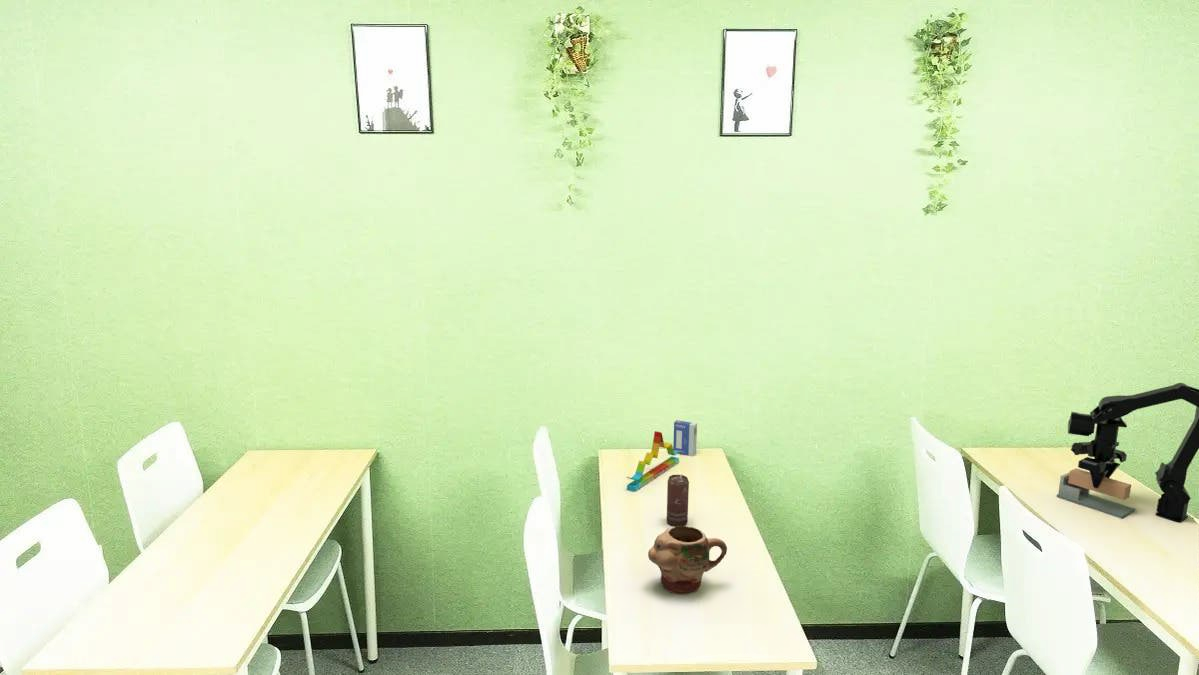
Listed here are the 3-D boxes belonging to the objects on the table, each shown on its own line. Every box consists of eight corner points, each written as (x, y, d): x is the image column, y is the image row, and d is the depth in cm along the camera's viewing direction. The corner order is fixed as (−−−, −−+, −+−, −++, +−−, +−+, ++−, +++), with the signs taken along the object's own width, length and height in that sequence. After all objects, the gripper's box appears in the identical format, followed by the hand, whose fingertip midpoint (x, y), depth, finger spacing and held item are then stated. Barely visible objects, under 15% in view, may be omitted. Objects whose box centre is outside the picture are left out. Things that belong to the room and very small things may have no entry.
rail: (1129, 497, 246) (1131, 484, 245) (1123, 500, 244) (1125, 487, 243) (1074, 480, 259) (1076, 468, 258) (1068, 482, 257) (1069, 470, 256)
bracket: (1088, 495, 257) (1091, 477, 256) (1078, 500, 253) (1080, 482, 252) (1069, 488, 262) (1071, 471, 261) (1058, 493, 258) (1060, 476, 257)
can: (689, 519, 241) (690, 474, 237) (685, 528, 235) (687, 483, 231) (668, 516, 242) (670, 472, 239) (664, 525, 236) (666, 480, 233)
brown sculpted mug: (715, 567, 212) (717, 518, 209) (733, 591, 201) (735, 540, 198) (641, 576, 208) (642, 526, 205) (656, 601, 196) (657, 549, 193)
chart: (635, 492, 259) (636, 448, 256) (626, 490, 261) (627, 446, 258) (679, 463, 284) (680, 422, 281) (671, 461, 286) (672, 421, 283)
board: (1135, 511, 248) (1135, 508, 248) (1121, 518, 243) (1122, 516, 243) (1070, 490, 263) (1070, 488, 263) (1056, 496, 258) (1056, 494, 258)
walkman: (673, 453, 293) (674, 421, 291) (675, 450, 296) (676, 419, 293) (693, 456, 290) (694, 424, 287) (696, 454, 292) (697, 422, 290)
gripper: (1092, 425, 260) (1085, 471, 263) (1063, 436, 249) (1057, 484, 252) (1130, 435, 251) (1123, 482, 254) (1102, 447, 240) (1095, 496, 244)
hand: (1098, 486), depth 251 cm, fingers closed on rail, 4 cm apart
